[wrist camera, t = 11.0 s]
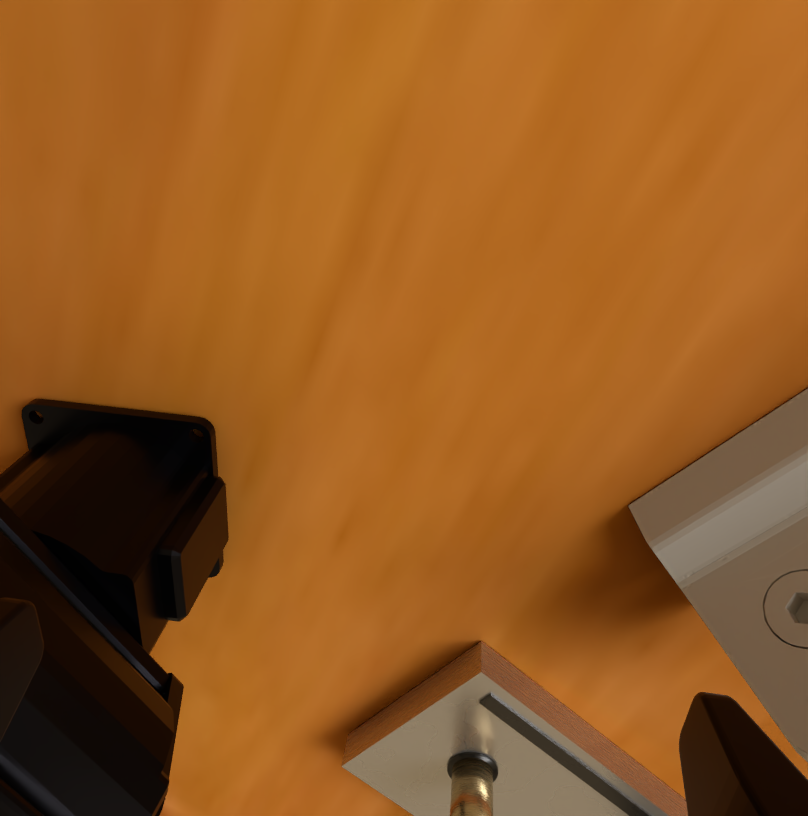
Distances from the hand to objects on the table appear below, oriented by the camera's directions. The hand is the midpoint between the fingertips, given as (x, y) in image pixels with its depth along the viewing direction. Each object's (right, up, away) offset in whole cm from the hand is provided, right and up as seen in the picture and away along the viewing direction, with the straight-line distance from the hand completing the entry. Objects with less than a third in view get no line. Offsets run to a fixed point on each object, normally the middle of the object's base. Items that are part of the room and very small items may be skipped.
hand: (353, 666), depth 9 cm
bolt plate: (+9, -14, +21) cm, 27 cm away
